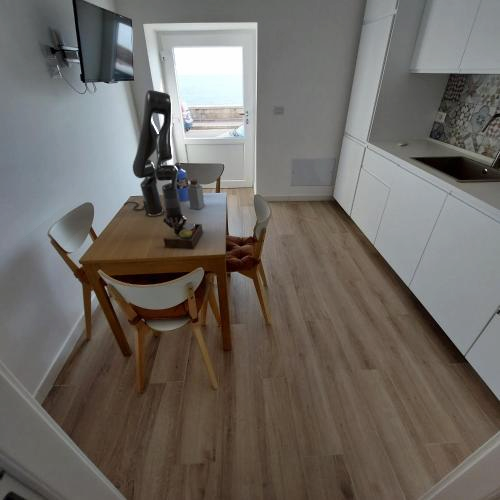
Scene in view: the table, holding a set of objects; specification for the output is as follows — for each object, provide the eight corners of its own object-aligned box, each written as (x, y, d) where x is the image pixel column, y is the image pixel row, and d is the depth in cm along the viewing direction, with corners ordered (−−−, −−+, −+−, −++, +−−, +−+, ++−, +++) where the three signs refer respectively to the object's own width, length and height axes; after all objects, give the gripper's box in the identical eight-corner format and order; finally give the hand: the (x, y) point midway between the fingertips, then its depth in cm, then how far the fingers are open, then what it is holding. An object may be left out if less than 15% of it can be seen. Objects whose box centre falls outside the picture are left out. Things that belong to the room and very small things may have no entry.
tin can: (181, 238, 146) (180, 229, 143) (186, 232, 152) (184, 223, 149) (194, 239, 145) (192, 230, 142) (197, 232, 151) (196, 223, 148)
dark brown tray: (165, 247, 139) (163, 239, 137) (177, 230, 153) (175, 222, 151) (193, 248, 138) (191, 240, 135) (202, 232, 151) (201, 224, 149)
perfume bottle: (204, 205, 181) (201, 178, 171) (199, 209, 176) (195, 182, 166) (195, 204, 183) (191, 177, 173) (190, 208, 178) (186, 181, 168)
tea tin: (180, 246, 140) (177, 234, 136) (184, 240, 145) (181, 228, 141) (191, 247, 139) (189, 235, 135) (195, 240, 144) (193, 229, 140)
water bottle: (174, 197, 192) (168, 162, 178) (187, 195, 196) (181, 160, 182) (178, 202, 186) (172, 165, 172) (191, 199, 189) (186, 163, 175)
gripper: (187, 201, 141) (191, 230, 151) (161, 201, 142) (168, 230, 151) (183, 207, 135) (188, 237, 145) (157, 207, 136) (163, 237, 145)
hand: (177, 234), depth 148 cm, fingers closed
